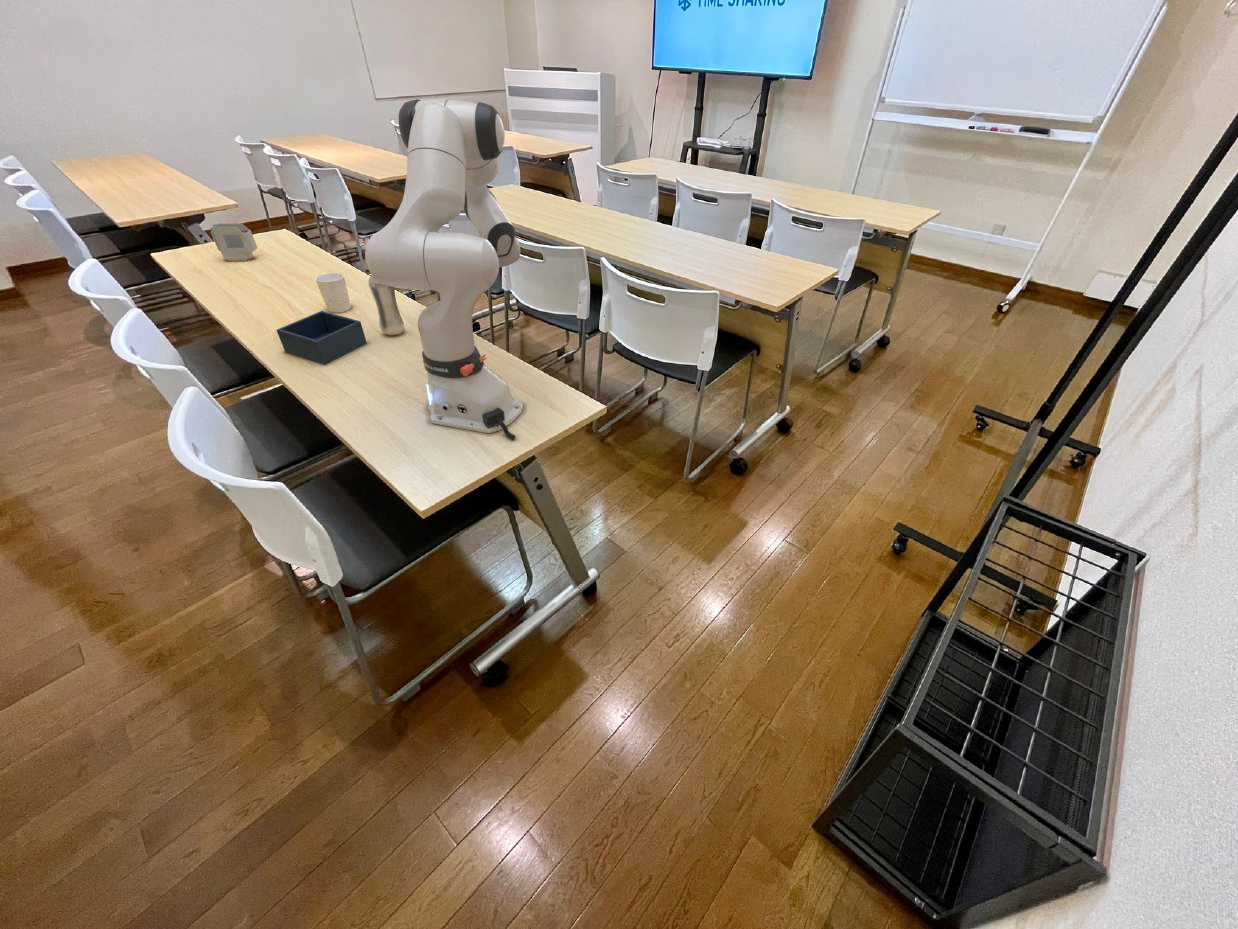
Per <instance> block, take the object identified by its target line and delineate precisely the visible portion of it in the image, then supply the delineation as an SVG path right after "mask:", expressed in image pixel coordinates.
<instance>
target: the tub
mask: <svg viewBox="0 0 1238 929" xmlns="http://www.w3.org/2000/svg"><path fill="white" fill-rule="evenodd" d="M275 331H276V333H277V336H278V338H279V340H280V344H281V345H282V348H283V350H284V353H286V354H289V355H292V356H295V357H298V358H302V359H305V360H308V361H311V362H313V363H318V364H321V365H323V366H325V365H327V364H329V363H331V362H334V361H336V360H337V359H340V358H341V357H343V356H345V355H347V354H349V353H351V352H353V351H355V350H357V349H359V348H360V347H362V346H364V345H366V344H367V343H368V342H367V339H366V335H365V333H364V329H363V325H362V321H360V320H357V319H353V318H350V317H346V316H343V315H339V314H337V313H333V312H329V311H324V310H320V311H318V312H315V313H313V314H310V315H309V316H305V317H303V318H301V319H299V320H296V321H294V322H292V323H289V324H287V325H284V326H282V327H279V328H277V329H276V330H275Z"/></svg>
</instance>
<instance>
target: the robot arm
mask: <svg viewBox="0 0 1238 929" xmlns="http://www.w3.org/2000/svg"><path fill="white" fill-rule="evenodd" d="M398 129H399V133H400V137H401V140H402V142H403V144H404V146H405V147H406V148H407V154H406V155H407V156H406V157H407V159H406V177H405V184H404V193H403V197H402V201H401V203H400V205H399V207H398V209H397V211H396V212H395V214H394V215H393V217H392V218H391V220H390V221H389V222H388V223H387V224H386V225H384V227H383V228H381V229H380V230H378V231H377V232H375V233H374V234H372V235H371V237H370V238H369V239H368V241H367V242H366V246H365V249H364V259H365V263H366V267H367V269H368V272H369V273H370V276H371V275H372V276H373V277H374V278H375V280H376V281H377V282H379V283H381V284H384V285H388V286H391V287H394V288H397V289H401V290H414V291H434V292H438V294H439V298H440V299H439V300H438V301H436V302H434V303H432V304H430V305H428V306H427V307H425V308H424V309H423V310H422V311H421V312H420V314H419V316H418V319H417V329H418V333H419V337H420V342H421V346H422V351H421V357H422V364H423V366H424V370H425V371H426V372H427V384H426V390H427V396H428V403H427V404H428V405H427V409H428V411H429V413H430V416H429V419H430V423H432V424H433V425H434V424H435V425H439V426H445V427H451V428H455V429H461V430H467V431H473V432H477V433H484V434H492V433H495V432H498V431H500V430H502V431H503V432H504V435H505V436H506V437H507V438H508V439H511V440H515V439H516V435H515V434H513V433H511V431H509V428H508V426H509V425H510V424H512V422H514V421H515V420H516V419H517V418H518V417H519V416H520V415H521V413H522V411H523V409H524V405H523V401H522V400H520V399H517V398H516V397H514V396H513V395H512V391H511V389H510V386H509V385H508V383H506V382H505V380H503V379H502V377H501V375H500V374H496V373H495V372H494V371H492V369H490V368H489V367H488V366H487V365H485V363H484V361H485V360H486V359H487V357H486V356H487V354H483V355H481V354H480V351H479V350H478V347H477V346H476V345H475V338H474V328H473V315H474V314H473V313H474V309H475V306H476V304H477V302H479V299H480V298H481V296H482V295H483V294H484V293H485V292H487V291H488V290H489V289H490V288H491V287H492V286H494V284H495V282H496V281H497V279H498V276H499V273H500V269H501V268H503V267H507V266H511V265H513V264H514V263H516V262H518V261H519V259H520V257H521V244H520V241H519V240H518V238H516V228H515V227H514V225H513V223H512V222H511V220H510V218H509V217H508V216H507V214H506V212H505V211H504V209H503V208H502V206H501V205H500V204H499V202H498V200H497V198H496V196H495V195H494V194H493V192H492V191H491V190H490V189H489V188H488V187H487V186H488V185H489V184H491V183H492V182H493V181H494V180H495V178H496V177H497V175H498V173H499V162H498V157H499V156H500V155H501V154H502V153H503V150H504V144H505V136H506V133H505V127H504V123H503V120H502V117H501V114H500V113H499V111H498V110H497V109H496V108H495V107H494V106H493V105H491V104H488V103H486V102H481V101H478V102H477V103H476V102H471V101H464V100H456V99H455V100H454V99H449V98H434V99H433V98H431V99H424V100H421V99H419V98H417V99H411V100H407V101H406V102H404V103H403V104H402V106H401V107H400V109H399V111H398ZM462 211H464V214H465V216H466V217H467V218H468V219H469V221H470V222H471V223H472V225H473V227H474V228H475V229H476V231H477V233H478V234H479V236H477V235H473V234H468V233H465V232H464V233H463V232H445V231H444V232H443V231H442V232H441V231H439V230H440V229H441V228H443V226H444V225H446V224H448V223H449V222H452V221H454V220H455V219H457V218H458V217H459V216H460V214H461V213H462Z"/></svg>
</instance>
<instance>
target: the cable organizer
mask: <svg viewBox="0 0 1238 929" xmlns="http://www.w3.org/2000/svg"><path fill="white" fill-rule="evenodd" d="M209 228H210V230H211V231H210V234H211V237H212V240H213V242H214V244H215V246H216V249H217V250H218V251H219V252H220V253H221V256H222V258H223V259H225V260H226V261H230V262H236V261H237V262H246V261H250V260H251V259H252V258H253V256H254V252H255V251H257V250H258V246H257V243H256V240H255V237H254V236H253V235H254V234H253V233H252V230H251V229H249V228H248V227H247V226H245V225H244V224H243V223H242V222H222V223H221V222H220V223H219V222H218V223H215V224H212V225H210V226H209Z"/></svg>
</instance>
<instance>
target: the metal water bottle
mask: <svg viewBox="0 0 1238 929" xmlns="http://www.w3.org/2000/svg"><path fill="white" fill-rule="evenodd" d="M367 284H368V288H369V289H370V292H371V294H372V296H373V299H374V302H375V305H376V309H377V315H378V322H379V323H378V324H379V327H380V330H381V332H383V333H384V334H385V335H388V336H396V335H400V334H402V333H403V332H404V329H405V322H404V320H403V318H402V315H401V313H400V310H399V307H398V303H397V298H396V291H395V290H396V289H395V287H391V286H388V285H384V284H381V283H379V282H377V281H376V280H375V278H374V277H373V276H372V275H371V274H370V276H369V278H368V283H367Z"/></svg>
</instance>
